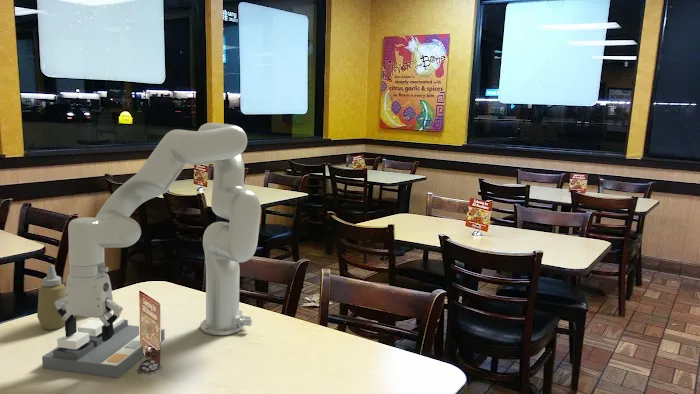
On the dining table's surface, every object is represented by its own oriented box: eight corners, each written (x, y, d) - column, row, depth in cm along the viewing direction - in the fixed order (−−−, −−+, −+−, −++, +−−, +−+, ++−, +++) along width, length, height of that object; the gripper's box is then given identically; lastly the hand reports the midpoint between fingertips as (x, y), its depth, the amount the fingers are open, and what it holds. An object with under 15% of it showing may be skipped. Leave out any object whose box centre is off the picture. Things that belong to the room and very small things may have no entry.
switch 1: (89, 340, 133) (89, 333, 133) (76, 349, 128) (76, 341, 128) (71, 338, 134) (71, 331, 134) (57, 347, 129) (57, 339, 129)
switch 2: (107, 328, 140) (107, 321, 140) (95, 336, 136) (95, 329, 135) (90, 326, 141) (90, 319, 141) (77, 334, 136) (77, 327, 136)
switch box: (164, 339, 148) (164, 323, 147) (118, 378, 127) (117, 360, 126) (98, 331, 151) (98, 316, 150) (42, 368, 130) (41, 350, 129)
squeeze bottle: (56, 333, 148) (53, 271, 145) (31, 330, 150) (27, 268, 147) (76, 322, 156) (73, 263, 153) (52, 319, 158) (49, 260, 155)
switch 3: (124, 325, 148) (123, 318, 148) (113, 332, 143) (113, 325, 143) (107, 323, 149) (107, 316, 149) (96, 330, 144) (96, 323, 144)
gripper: (129, 268, 130) (130, 335, 132) (65, 261, 132) (67, 327, 135) (111, 277, 122) (112, 347, 125) (43, 270, 125) (46, 339, 128)
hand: (89, 337), depth 130 cm, fingers open, 9 cm apart
